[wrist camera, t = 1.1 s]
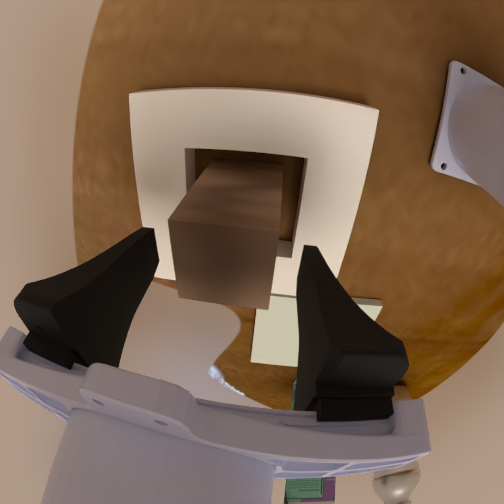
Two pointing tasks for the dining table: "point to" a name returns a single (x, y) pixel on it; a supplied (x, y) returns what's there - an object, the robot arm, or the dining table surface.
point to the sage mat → (288, 329)
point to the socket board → (255, 140)
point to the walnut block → (228, 234)
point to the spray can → (309, 485)
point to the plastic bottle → (397, 470)
